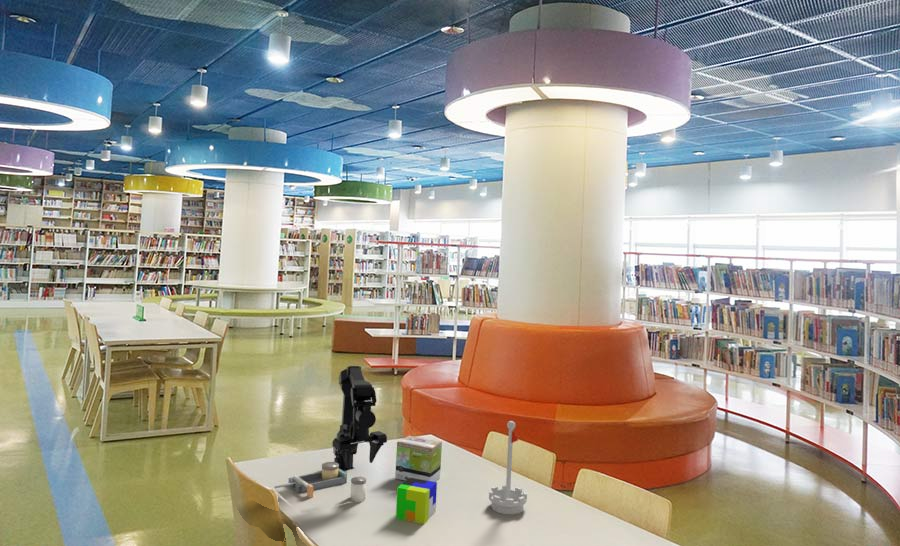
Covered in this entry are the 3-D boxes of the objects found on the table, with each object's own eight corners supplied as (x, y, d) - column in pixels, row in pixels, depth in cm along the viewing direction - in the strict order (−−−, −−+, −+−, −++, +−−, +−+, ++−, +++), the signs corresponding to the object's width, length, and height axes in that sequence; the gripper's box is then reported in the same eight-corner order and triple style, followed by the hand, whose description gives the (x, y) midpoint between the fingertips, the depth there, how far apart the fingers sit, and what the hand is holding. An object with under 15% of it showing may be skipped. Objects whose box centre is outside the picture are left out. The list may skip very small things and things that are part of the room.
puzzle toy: (435, 512, 194) (436, 482, 194) (424, 524, 185) (425, 492, 185) (408, 506, 198) (409, 477, 197) (395, 518, 188) (397, 487, 188)
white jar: (360, 495, 205) (361, 475, 205) (368, 500, 201) (369, 480, 201) (347, 498, 202) (348, 478, 202) (354, 503, 198) (355, 483, 198)
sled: (296, 484, 211) (296, 473, 211) (313, 498, 200) (313, 486, 200) (270, 490, 205) (271, 478, 205) (286, 504, 194) (287, 491, 194)
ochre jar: (333, 476, 220) (334, 461, 220) (341, 481, 215) (341, 465, 215) (318, 479, 216) (318, 463, 216) (325, 485, 211) (326, 468, 211)
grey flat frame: (334, 476, 222) (334, 465, 222) (346, 484, 215) (347, 473, 215) (288, 485, 211) (288, 474, 211) (299, 494, 203) (299, 483, 203)
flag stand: (481, 502, 204) (485, 417, 203) (514, 498, 209) (518, 415, 209) (499, 517, 192) (503, 427, 191) (533, 513, 197) (537, 424, 197)
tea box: (394, 479, 222) (396, 441, 221) (406, 471, 231) (407, 434, 231) (430, 487, 216) (432, 447, 216) (440, 478, 225) (442, 440, 225)
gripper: (372, 411, 213) (370, 454, 213) (326, 418, 202) (324, 462, 202) (388, 418, 205) (386, 463, 205) (341, 426, 193) (339, 472, 193)
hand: (359, 465), depth 201 cm, fingers open, 9 cm apart
